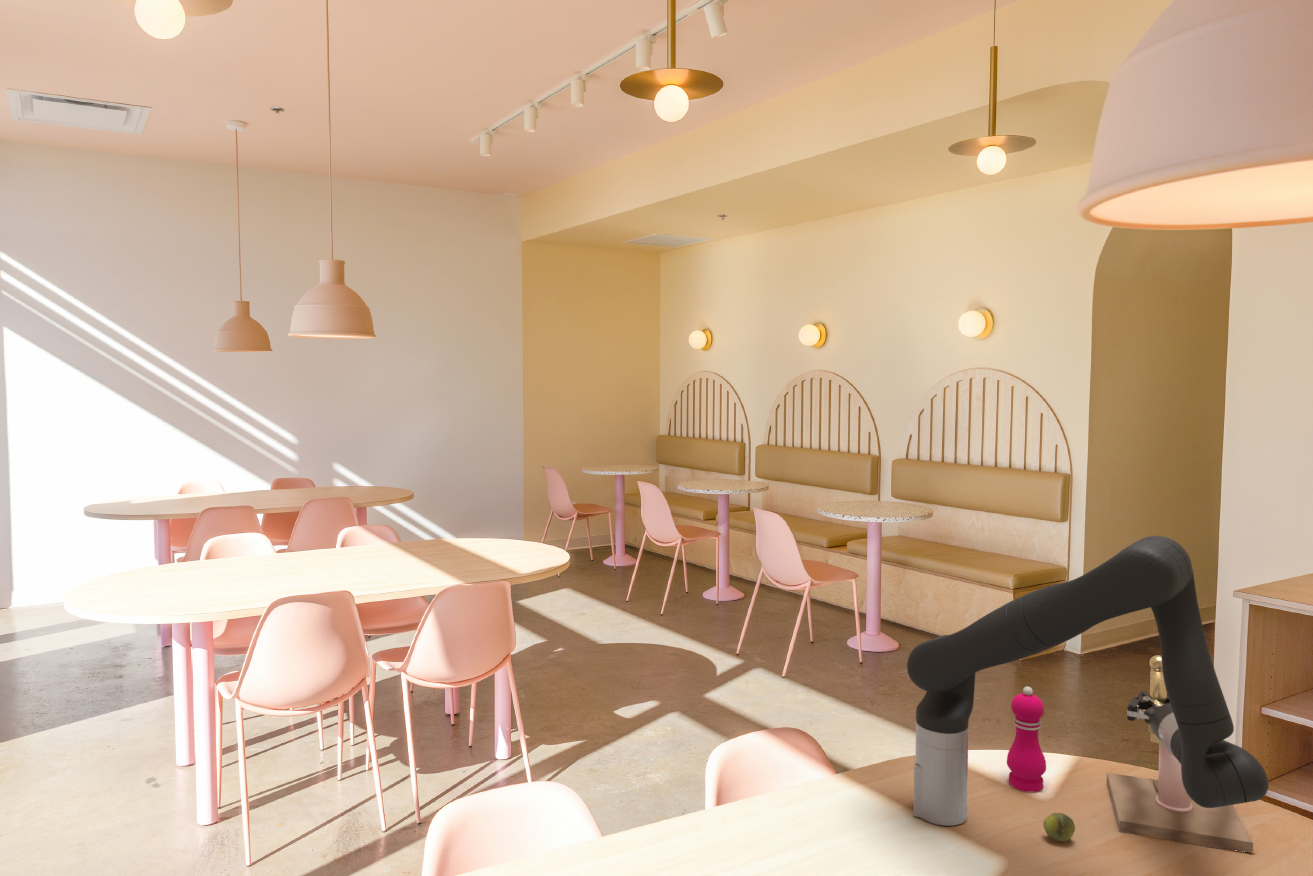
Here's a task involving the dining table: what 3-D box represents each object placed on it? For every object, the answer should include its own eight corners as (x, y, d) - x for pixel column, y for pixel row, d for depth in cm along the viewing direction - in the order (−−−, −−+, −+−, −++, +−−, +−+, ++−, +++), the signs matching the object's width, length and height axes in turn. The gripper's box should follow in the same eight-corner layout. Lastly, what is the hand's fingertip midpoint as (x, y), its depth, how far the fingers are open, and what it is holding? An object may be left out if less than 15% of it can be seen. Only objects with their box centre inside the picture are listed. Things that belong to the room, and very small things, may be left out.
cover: (1158, 809, 155) (1160, 745, 154) (1153, 794, 161) (1155, 733, 160) (1195, 815, 153) (1197, 750, 152) (1188, 800, 158) (1191, 737, 158)
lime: (1039, 836, 150) (1039, 809, 150) (1060, 831, 152) (1060, 804, 151) (1059, 849, 146) (1059, 821, 146) (1080, 844, 148) (1081, 816, 147)
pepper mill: (1052, 793, 165) (1054, 693, 164) (1014, 793, 166) (1016, 693, 164) (1036, 776, 173) (1038, 680, 171) (1000, 776, 173) (1002, 680, 171)
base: (1119, 831, 151) (1119, 816, 151) (1106, 782, 170) (1106, 768, 170) (1252, 854, 144) (1253, 838, 144) (1224, 799, 162) (1224, 785, 162)
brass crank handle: (1164, 772, 166) (1168, 636, 164) (1182, 777, 164) (1186, 639, 162) (1143, 801, 155) (1147, 655, 153) (1162, 807, 153) (1166, 659, 151)
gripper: (1233, 715, 138) (1195, 679, 155) (1138, 708, 142) (1110, 673, 158) (1232, 760, 139) (1194, 719, 155) (1137, 752, 142) (1110, 713, 159)
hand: (1152, 696), depth 157 cm, fingers closed on brass crank handle, 2 cm apart
